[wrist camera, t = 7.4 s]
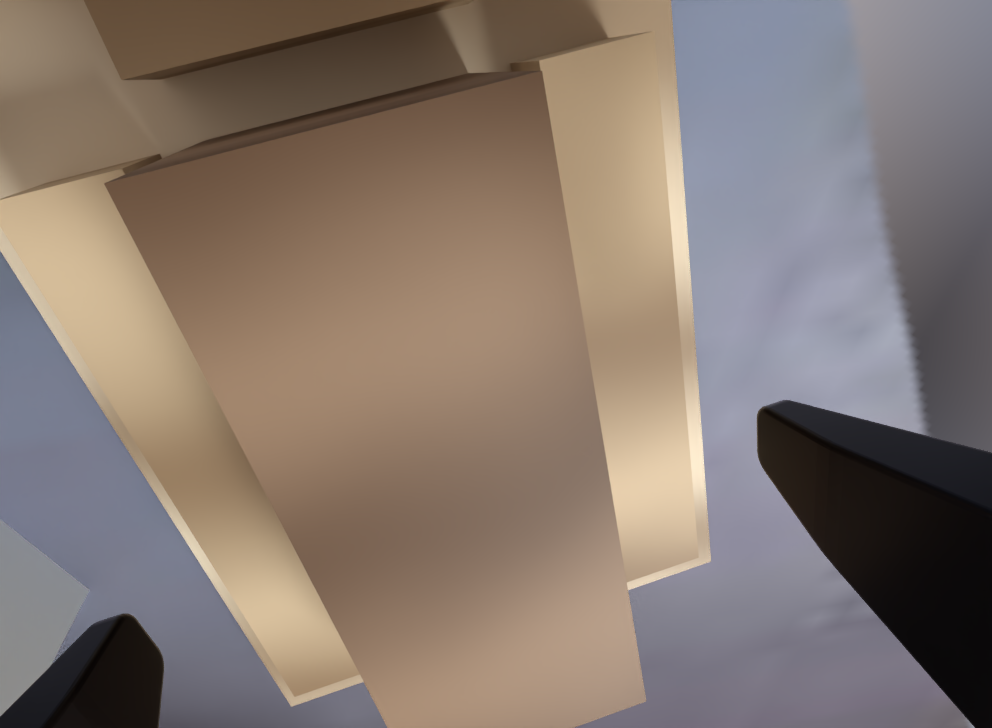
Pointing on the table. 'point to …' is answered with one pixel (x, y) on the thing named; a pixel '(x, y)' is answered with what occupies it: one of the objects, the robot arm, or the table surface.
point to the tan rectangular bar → (412, 389)
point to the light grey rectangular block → (31, 613)
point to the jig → (307, 89)
